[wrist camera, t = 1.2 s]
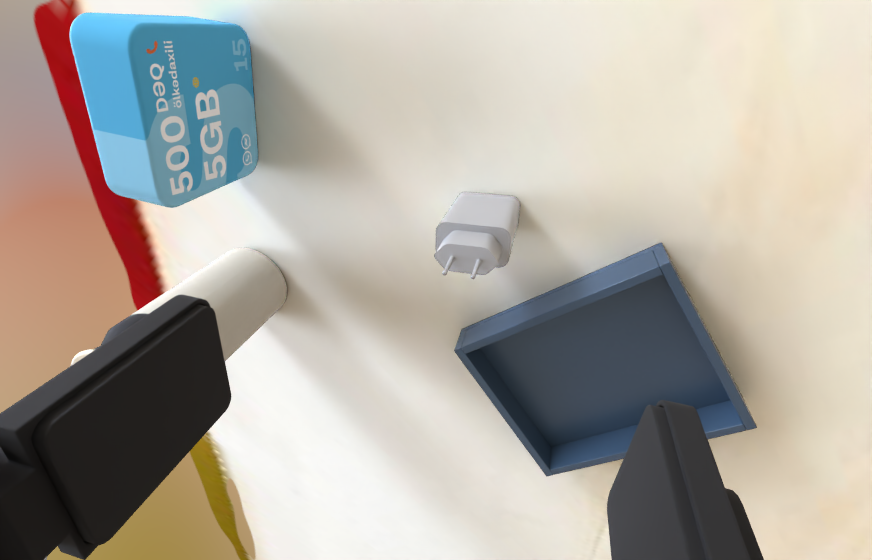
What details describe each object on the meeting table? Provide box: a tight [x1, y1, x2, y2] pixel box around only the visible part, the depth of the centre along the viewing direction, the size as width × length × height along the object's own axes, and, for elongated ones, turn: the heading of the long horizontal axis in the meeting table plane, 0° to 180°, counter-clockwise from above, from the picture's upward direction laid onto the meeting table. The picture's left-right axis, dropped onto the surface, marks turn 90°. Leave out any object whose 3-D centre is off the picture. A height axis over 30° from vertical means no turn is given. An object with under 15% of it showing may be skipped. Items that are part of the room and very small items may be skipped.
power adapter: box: [434, 192, 520, 279], centre depth 33 cm, size 3×5×12 cm, turn 89°
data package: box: [70, 13, 258, 208], centre depth 34 cm, size 12×4×12 cm, turn 172°
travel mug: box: [71, 248, 287, 366], centre depth 41 cm, size 8×8×18 cm
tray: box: [454, 243, 757, 476], centre depth 41 cm, size 20×18×4 cm
